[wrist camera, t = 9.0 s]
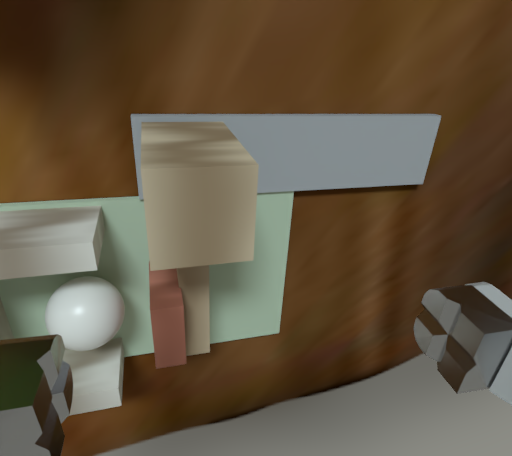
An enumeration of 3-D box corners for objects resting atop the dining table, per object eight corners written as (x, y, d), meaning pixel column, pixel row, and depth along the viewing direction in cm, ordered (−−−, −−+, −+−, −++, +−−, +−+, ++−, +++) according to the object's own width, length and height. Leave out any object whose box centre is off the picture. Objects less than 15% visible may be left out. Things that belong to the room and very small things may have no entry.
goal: (101, 205, 20) (92, 242, 17) (124, 354, 25) (121, 405, 22) (-64, 215, 18) (-112, 258, 15) (-3, 373, 23) (-28, 433, 20)
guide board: (434, 113, 23) (441, 115, 23) (417, 180, 25) (422, 183, 25) (131, 114, 19) (130, 116, 18) (139, 195, 21) (139, 199, 20)
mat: (291, 188, 23) (294, 190, 23) (277, 329, 28) (279, 332, 28) (-62, 206, 18) (-66, 210, 18) (0, 371, 24) (-2, 376, 23)
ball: (18, 301, 18) (67, 258, 22) (36, 360, 20) (79, 312, 23) (95, 313, 18) (133, 267, 21) (106, 373, 19) (140, 321, 23)
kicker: (222, 121, 19) (258, 165, 13) (221, 317, 25) (245, 407, 19) (135, 122, 18) (131, 169, 12) (155, 326, 24) (159, 425, 18)
